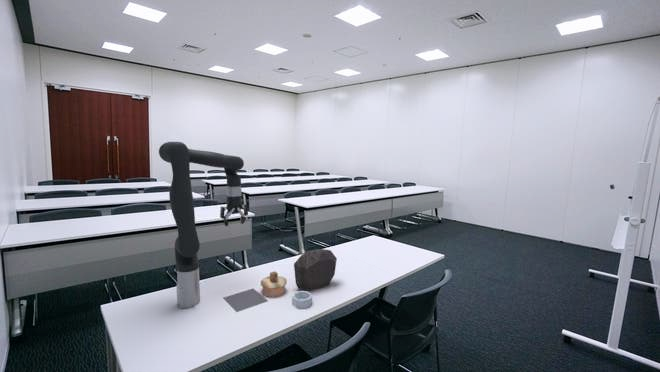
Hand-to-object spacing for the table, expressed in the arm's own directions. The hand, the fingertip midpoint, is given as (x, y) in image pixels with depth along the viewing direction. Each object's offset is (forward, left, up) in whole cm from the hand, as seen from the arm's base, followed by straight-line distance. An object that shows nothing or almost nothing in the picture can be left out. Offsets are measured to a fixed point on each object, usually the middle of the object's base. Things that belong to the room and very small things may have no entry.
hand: (234, 224), depth 164 cm
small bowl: (+16, -40, -32) cm, 54 cm away
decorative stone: (+32, -30, -32) cm, 54 cm away
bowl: (+11, -22, -32) cm, 40 cm away
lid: (+11, -22, -27) cm, 37 cm away
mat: (-4, -21, -32) cm, 39 cm away
